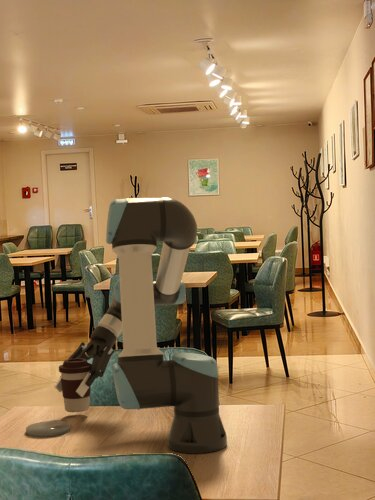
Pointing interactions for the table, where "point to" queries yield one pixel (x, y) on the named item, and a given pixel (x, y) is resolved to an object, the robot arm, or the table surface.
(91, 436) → the table surface
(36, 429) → the slate coaster
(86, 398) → the coffee cup
